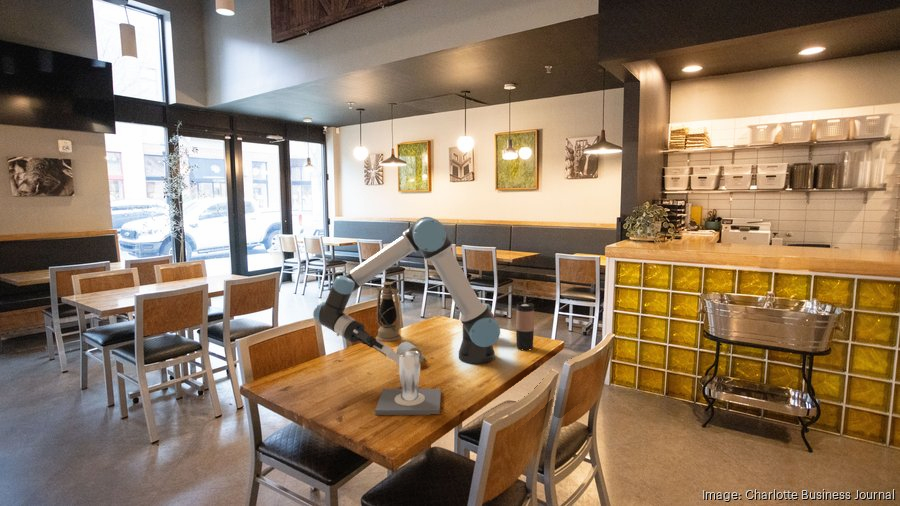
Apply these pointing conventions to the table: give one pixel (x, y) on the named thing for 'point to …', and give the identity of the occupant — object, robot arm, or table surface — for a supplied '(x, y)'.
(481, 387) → the table surface
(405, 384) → the beer glass
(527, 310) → the travel mug
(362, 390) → the table surface
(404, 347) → the ceramic mug
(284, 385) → the table surface
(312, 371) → the table surface
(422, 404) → the charcoal board
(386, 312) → the lantern
